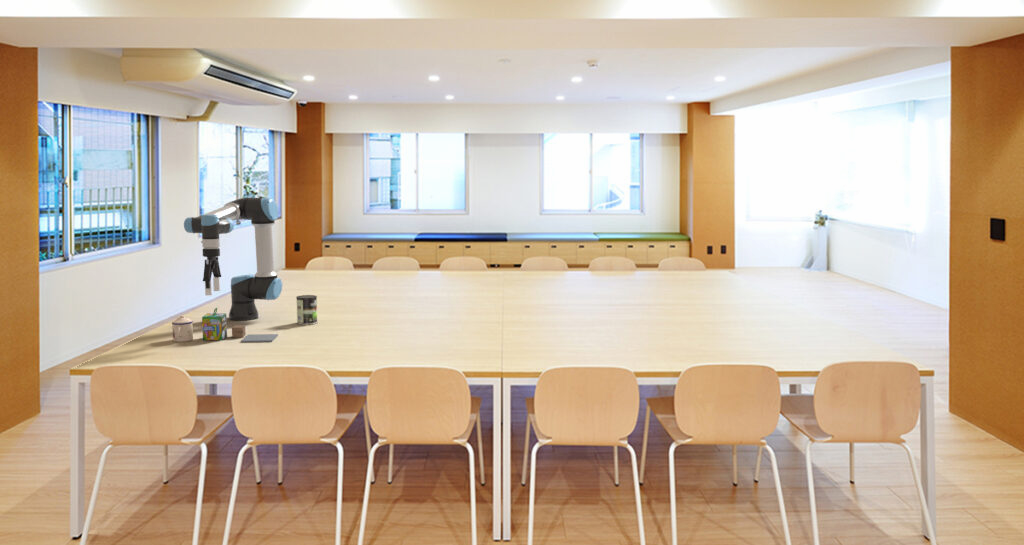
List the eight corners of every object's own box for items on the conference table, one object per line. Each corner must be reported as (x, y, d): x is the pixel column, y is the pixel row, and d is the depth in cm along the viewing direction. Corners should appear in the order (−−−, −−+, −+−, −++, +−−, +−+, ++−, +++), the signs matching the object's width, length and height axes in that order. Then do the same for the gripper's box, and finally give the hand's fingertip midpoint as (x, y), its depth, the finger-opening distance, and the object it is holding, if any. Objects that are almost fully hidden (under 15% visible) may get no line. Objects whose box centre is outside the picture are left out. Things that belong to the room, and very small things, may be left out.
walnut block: (234, 335, 378) (234, 325, 377) (245, 335, 378) (245, 325, 378) (232, 338, 373) (231, 327, 372) (243, 337, 373) (242, 327, 373)
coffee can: (320, 321, 414) (320, 295, 412) (312, 325, 404) (311, 298, 402) (302, 320, 416) (301, 294, 414) (293, 324, 406) (292, 297, 404)
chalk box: (208, 336, 375) (206, 306, 373) (227, 336, 375) (226, 306, 374) (202, 341, 366) (200, 309, 364) (222, 340, 366) (221, 309, 364)
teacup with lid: (175, 338, 371) (174, 313, 370) (195, 337, 373) (194, 313, 371) (168, 343, 360) (167, 318, 358) (189, 343, 361) (188, 318, 359)
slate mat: (248, 336, 377) (248, 334, 377) (277, 335, 378) (277, 334, 378) (240, 342, 363) (240, 340, 363) (271, 342, 364) (271, 340, 364)
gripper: (210, 245, 377) (212, 289, 379) (194, 250, 352) (196, 297, 355) (226, 245, 378) (228, 289, 380) (211, 250, 353) (213, 297, 355)
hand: (212, 293), depth 367 cm, fingers open, 13 cm apart
